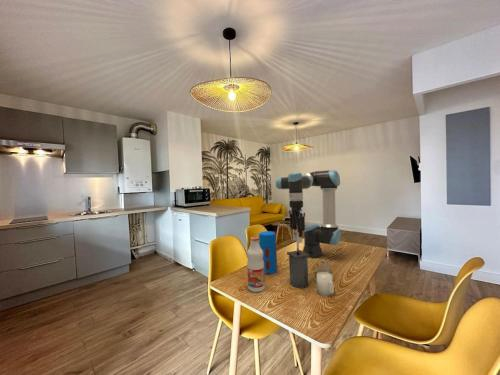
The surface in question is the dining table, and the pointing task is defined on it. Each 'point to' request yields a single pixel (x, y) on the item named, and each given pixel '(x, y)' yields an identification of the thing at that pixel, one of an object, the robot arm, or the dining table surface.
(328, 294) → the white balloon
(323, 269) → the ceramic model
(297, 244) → the plunger
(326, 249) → the dining table surface
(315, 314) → the dining table surface
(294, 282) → the press body
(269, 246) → the thermos
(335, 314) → the dining table surface
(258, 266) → the fruit juice
